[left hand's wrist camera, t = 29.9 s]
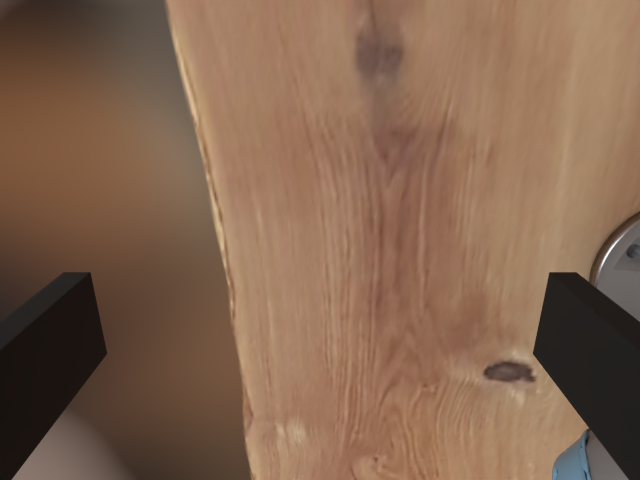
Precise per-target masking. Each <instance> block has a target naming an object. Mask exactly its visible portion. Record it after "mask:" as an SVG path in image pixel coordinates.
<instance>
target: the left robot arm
mask: <svg viewBox="0 0 640 480" xmlns="http://www.w3.org/2000/svg"><path fill="white" fill-rule="evenodd" d="M106 354H107V351H106V346H105V341H104V336H103V332H102V327H101V322H100V317H99V312H98V307H97V302H96V297H95V292H94V288H93V283H92V278H91V273H90V272H82V273H81V272H71V273H70V272H64V273H62V274H61V275H60V276H58V277H57V278H56V279H55V280H53V281H52V282H51V283H49V284H48V285H47V286H46V287H44V288H43V289H42V290H40V291H39V292H38V293H37V294H35V295H34V296H33V297H31V298H30V299H29V300H28V301H26V302H25V303H24V304H22V305H21V306H20V307H19V308H17V309H16V310H15V311H13V312H12V313H11V314H10V315H8V316H7V317H6V318H4V319H3V320H2V321H0V480H12V478H13V477H14V476H15V474H16V473H17V472H18V470H19V469H20V468H21V466H22V465H23V464H24V462H25V461H26V460H27V458H28V457H29V456H30V454H31V453H32V452H33V451H34V449H35V448H36V447H37V445H38V444H39V443H40V441H41V440H42V439H43V437H44V436H45V435H46V433H47V432H48V431H49V429H50V428H51V427H52V426H53V424H54V423H55V422H56V420H57V419H58V418H59V416H60V415H61V414H62V412H63V411H64V410H65V408H66V407H67V406H68V404H69V403H70V402H71V401H72V399H73V398H74V397H75V395H76V394H77V393H78V391H79V390H80V389H81V387H82V386H83V385H84V383H85V382H86V381H87V379H88V378H89V377H90V376H91V374H92V373H93V372H94V370H95V369H96V368H97V366H98V365H99V364H100V362H101V361H102V360H103V358H104V357H105V356H106ZM533 354H534V356H535V357H536V358H537V360H538V361H539V362H540V364H541V365H542V366H543V368H544V369H545V370H546V372H547V373H548V374H549V376H550V377H551V378H552V380H553V381H554V382H555V383H556V385H557V386H558V387H559V389H560V390H561V391H562V393H563V394H564V395H565V397H566V398H567V399H568V401H569V402H570V403H571V405H572V406H573V407H574V408H575V410H576V411H577V412H578V414H579V415H580V416H581V418H582V419H583V420H584V422H585V423H586V424H587V426H588V427H589V429H587V430H586V431H584V432H583V434H582V436H581V438H580V439H578V440H577V441H576V442H575V443H574V444H573V445H571V446H570V447H569V448H568V449H567V450H566V451H564V452H563V453H562V454H560V455H559V457H558V458H557V459H556V461H555V463H554V466H553V470H552V480H640V212H639V213H637V214H635V215H634V216H632V217H631V218H629V219H628V220H627V221H625V222H624V223H623V224H621V225H620V226H619V227H618V228H617V229H616V230H615V231H614V232H613V233H612V234H611V235H610V236H609V238H608V239H607V240H606V241H605V243H604V244H603V246H602V247H601V249H600V250H599V252H598V254H597V256H596V258H595V260H594V263H593V265H592V269H591V272H590V277H589V282H588V281H587V280H585V279H584V278H583V277H582V276H580V275H579V274H578V273H576V272H550V273H549V278H548V283H547V288H546V292H545V297H544V302H543V307H542V312H541V317H540V322H539V327H538V331H537V336H536V341H535V346H534V351H533Z"/></svg>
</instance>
